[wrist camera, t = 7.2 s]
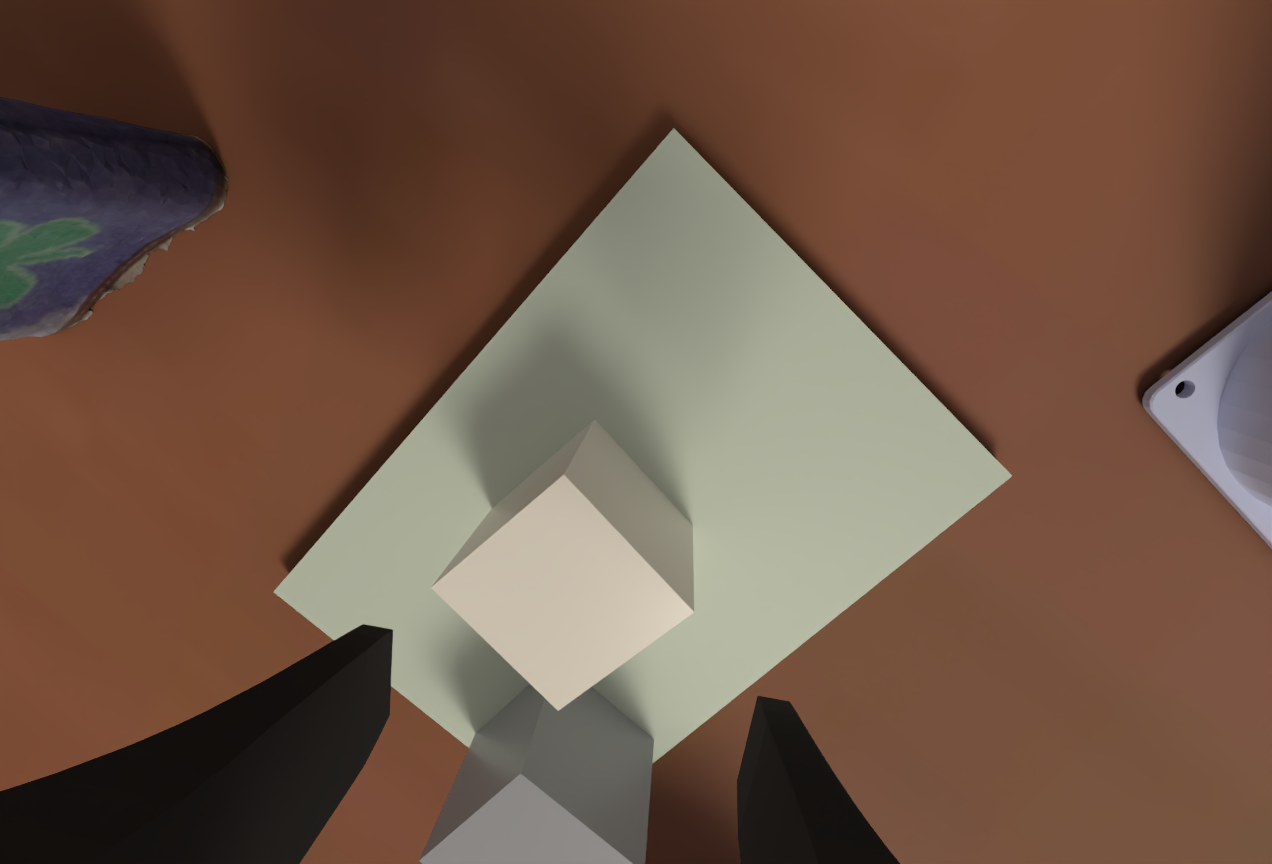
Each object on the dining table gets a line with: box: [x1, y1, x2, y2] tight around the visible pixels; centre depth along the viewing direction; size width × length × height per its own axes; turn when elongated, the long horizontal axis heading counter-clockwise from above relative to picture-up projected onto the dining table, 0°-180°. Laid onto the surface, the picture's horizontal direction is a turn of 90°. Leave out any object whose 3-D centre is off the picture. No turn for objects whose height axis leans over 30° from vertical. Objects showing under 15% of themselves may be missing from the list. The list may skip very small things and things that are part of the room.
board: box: [274, 128, 1012, 764], centre depth 19 cm, size 20×14×4 cm
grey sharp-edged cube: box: [419, 684, 654, 864], centre depth 20 cm, size 5×5×5 cm
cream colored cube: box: [431, 419, 694, 711], centre depth 18 cm, size 5×5×5 cm
